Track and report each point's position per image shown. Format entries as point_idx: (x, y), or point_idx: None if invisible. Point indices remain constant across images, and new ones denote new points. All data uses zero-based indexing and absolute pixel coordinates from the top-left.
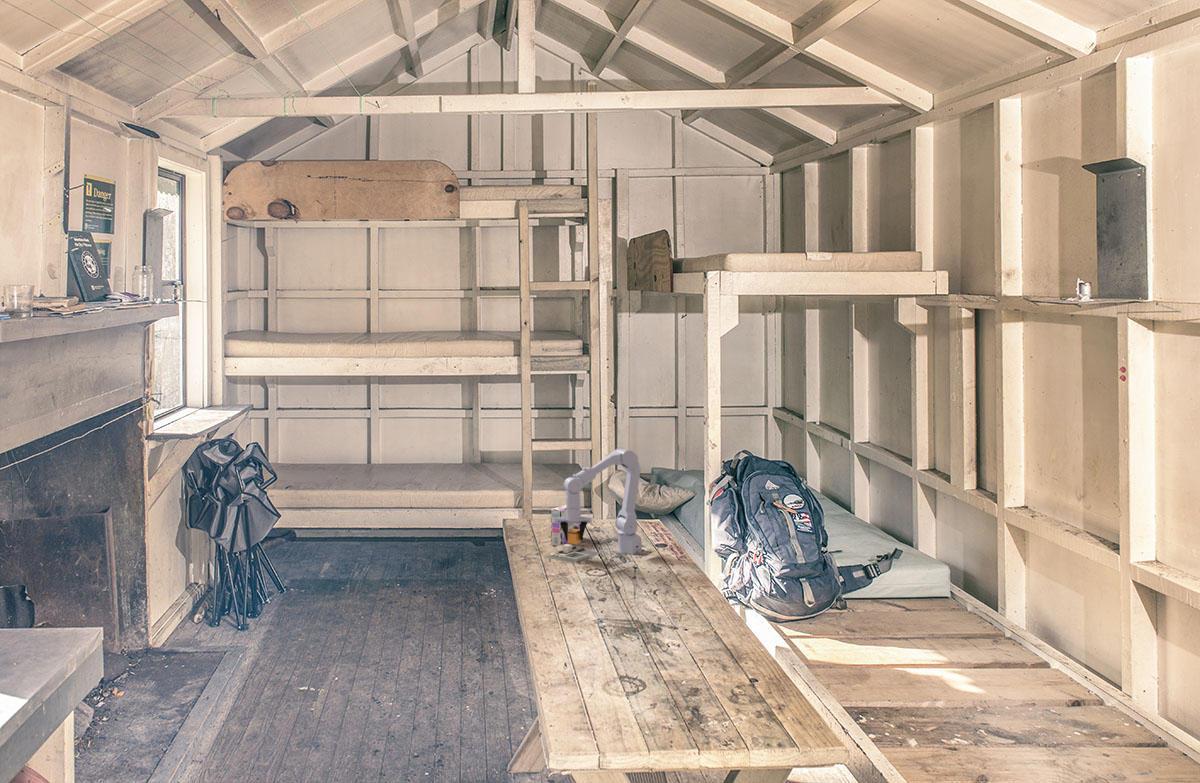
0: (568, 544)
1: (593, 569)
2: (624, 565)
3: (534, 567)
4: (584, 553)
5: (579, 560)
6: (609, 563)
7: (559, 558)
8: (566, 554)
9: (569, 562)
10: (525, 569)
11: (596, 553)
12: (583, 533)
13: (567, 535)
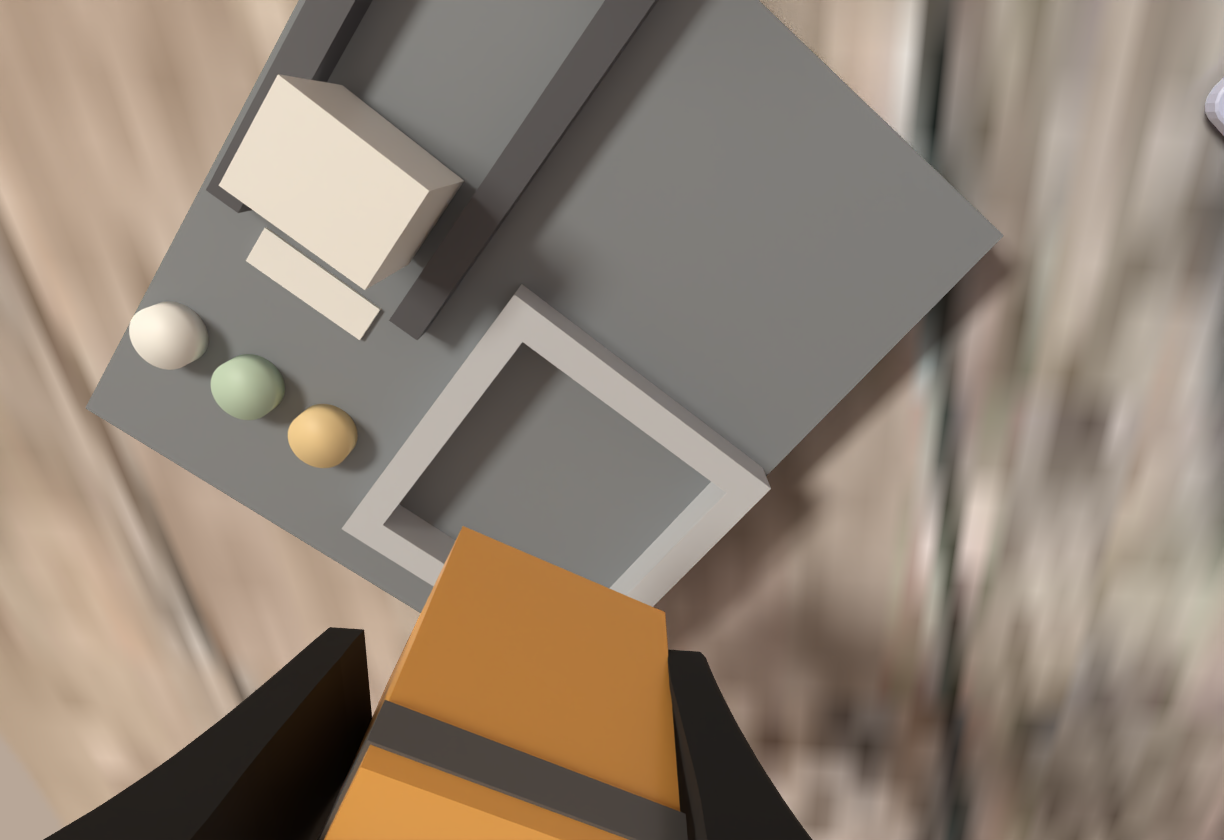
0: (338, 138)
1: (798, 749)
2: (1187, 644)
3: (105, 648)
4: (686, 238)
5: None
6: (1018, 559)
7: (328, 491)
8: (408, 463)
9: None
10: (35, 705)
11: (896, 252)
12: (749, 766)
13: (316, 807)
